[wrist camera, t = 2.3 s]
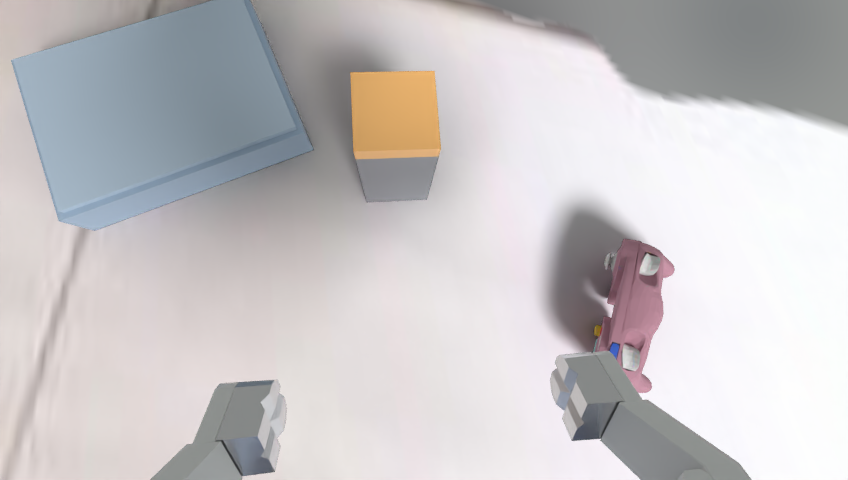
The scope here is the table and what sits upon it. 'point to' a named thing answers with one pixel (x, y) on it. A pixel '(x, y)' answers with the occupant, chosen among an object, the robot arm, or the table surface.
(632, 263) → the video game controller
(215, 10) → the stand
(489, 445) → the table surface
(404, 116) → the block
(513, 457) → the table surface
